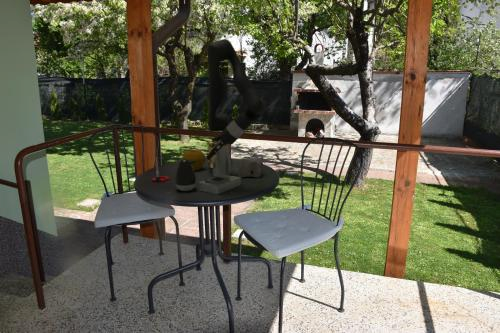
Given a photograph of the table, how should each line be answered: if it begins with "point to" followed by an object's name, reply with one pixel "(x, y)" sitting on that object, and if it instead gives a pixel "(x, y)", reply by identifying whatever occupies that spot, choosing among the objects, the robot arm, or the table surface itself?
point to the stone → (250, 167)
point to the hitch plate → (219, 184)
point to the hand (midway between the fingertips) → (208, 157)
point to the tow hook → (157, 178)
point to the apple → (195, 158)
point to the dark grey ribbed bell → (185, 175)
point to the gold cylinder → (213, 160)
